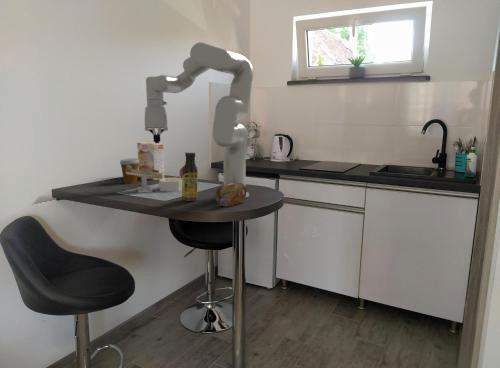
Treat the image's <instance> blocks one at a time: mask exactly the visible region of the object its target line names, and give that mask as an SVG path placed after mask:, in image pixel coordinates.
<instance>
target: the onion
mask: <svg viewBox="0 0 500 368" xmlns="http://www.w3.org/2000/svg"><path fill="white" fill-rule="evenodd" d="M183 167H184V165H183V166H182V167H181V168H180V169H179V176H180V178H182V175H183ZM197 173H198V174H199V171H198V169H197Z"/></svg>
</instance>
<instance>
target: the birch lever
mask: <svg viewBox="0 0 500 368" xmlns="http://www.w3.org/2000/svg"><path fill="white" fill-rule="evenodd" d="M126 174H129V175H137V177H139V176H142V174H147V177H152V178H159V179H162V178H163V175H162V173H159V170H153V172H150V171H143V170H139V169H138V170H136V169H132V166H131V165H127V166H126ZM159 179H158V180H159Z"/></svg>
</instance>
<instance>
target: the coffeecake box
mask: <svg viewBox="0 0 500 368" xmlns="http://www.w3.org/2000/svg"><path fill="white" fill-rule="evenodd" d="M137 159H138V161H139V163H138V170H143V171H150V172H153V170H159V173H162V175H163V178H165V156H164V143H160V142H159V143H155V142H151V141H149V142H148V141H143V142H142V141H140V142H137ZM138 178H141V176H138ZM163 178H162V179H163ZM147 180H153V181H155V180H156V181H159V178H152V177H147Z"/></svg>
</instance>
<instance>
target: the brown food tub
mask: <svg viewBox="0 0 500 368" xmlns="http://www.w3.org/2000/svg"><path fill="white" fill-rule="evenodd" d="M119 163H120V167H121V172H122V178H123V183H124V184H136V183H137V182H138V176H137V175H129V174H126V166H127V165H131V166H132V169H136V170H139V168H138V163H139V161H138V158H121V159H120V161H119Z"/></svg>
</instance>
